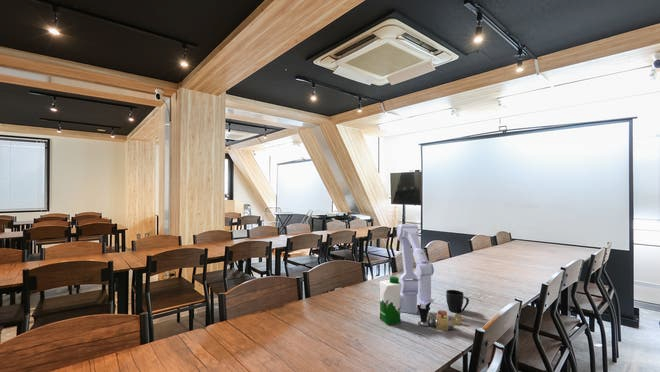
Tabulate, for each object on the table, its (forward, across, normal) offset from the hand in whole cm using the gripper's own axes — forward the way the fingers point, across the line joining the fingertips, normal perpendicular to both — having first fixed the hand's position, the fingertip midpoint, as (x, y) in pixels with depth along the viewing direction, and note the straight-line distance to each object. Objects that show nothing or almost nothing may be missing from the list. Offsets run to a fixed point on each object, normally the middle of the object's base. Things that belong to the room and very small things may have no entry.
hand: (424, 319), depth 136 cm
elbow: (+2, +7, -14) cm, 16 cm away
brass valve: (+2, 0, -8) cm, 8 cm away
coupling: (+2, 0, 0) cm, 2 cm away
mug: (+3, +22, -15) cm, 27 cm away
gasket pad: (+2, 0, 0) cm, 2 cm away
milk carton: (+3, -3, +15) cm, 16 cm away
